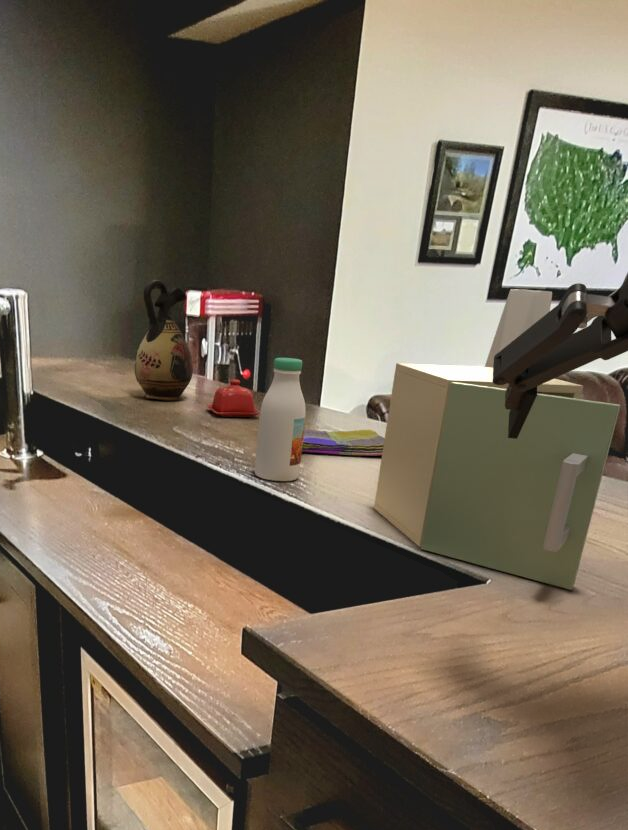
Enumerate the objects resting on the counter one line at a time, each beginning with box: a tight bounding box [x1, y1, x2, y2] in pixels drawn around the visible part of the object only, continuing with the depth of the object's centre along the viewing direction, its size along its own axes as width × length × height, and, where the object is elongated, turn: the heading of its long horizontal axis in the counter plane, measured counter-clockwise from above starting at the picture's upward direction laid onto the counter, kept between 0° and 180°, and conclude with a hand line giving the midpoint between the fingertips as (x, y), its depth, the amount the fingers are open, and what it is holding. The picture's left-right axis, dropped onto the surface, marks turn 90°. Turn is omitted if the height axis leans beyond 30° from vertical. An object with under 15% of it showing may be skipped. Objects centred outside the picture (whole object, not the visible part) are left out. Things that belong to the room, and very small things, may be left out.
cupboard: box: [373, 362, 584, 548], centre depth 101 cm, size 16×18×22 cm
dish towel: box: [302, 428, 385, 457], centre depth 149 cm, size 18×24×3 cm
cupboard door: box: [420, 382, 621, 591], centre depth 84 cm, size 7×18×22 cm, turn 52°
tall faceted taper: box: [484, 288, 553, 367], centre depth 129 cm, size 12×12×33 cm
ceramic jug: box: [134, 279, 194, 401], centre depth 188 cm, size 17×15×30 cm
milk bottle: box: [253, 357, 307, 482], centre depth 122 cm, size 8×8×20 cm
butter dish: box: [205, 378, 260, 418], centre depth 175 cm, size 12×12×8 cm
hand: (595, 434), depth 64 cm, fingers open, 13 cm apart
